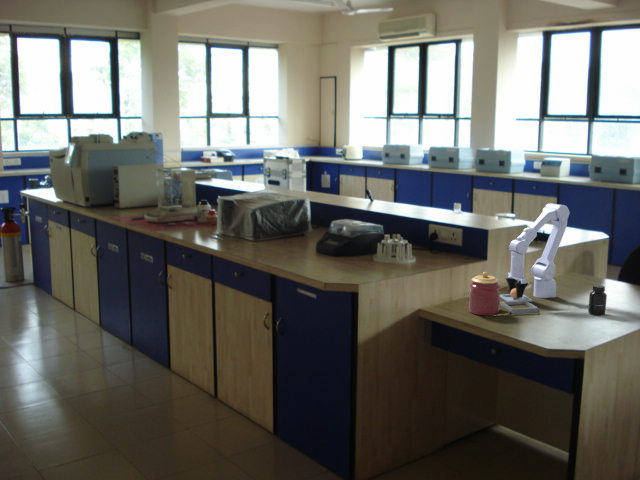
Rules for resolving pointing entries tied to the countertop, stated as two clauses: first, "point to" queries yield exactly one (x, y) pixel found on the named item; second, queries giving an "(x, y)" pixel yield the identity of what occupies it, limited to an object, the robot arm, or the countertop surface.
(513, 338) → the countertop surface
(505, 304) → the tray
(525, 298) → the dish
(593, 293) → the supplement bottle
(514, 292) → the ball
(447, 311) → the countertop surface
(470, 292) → the canister
